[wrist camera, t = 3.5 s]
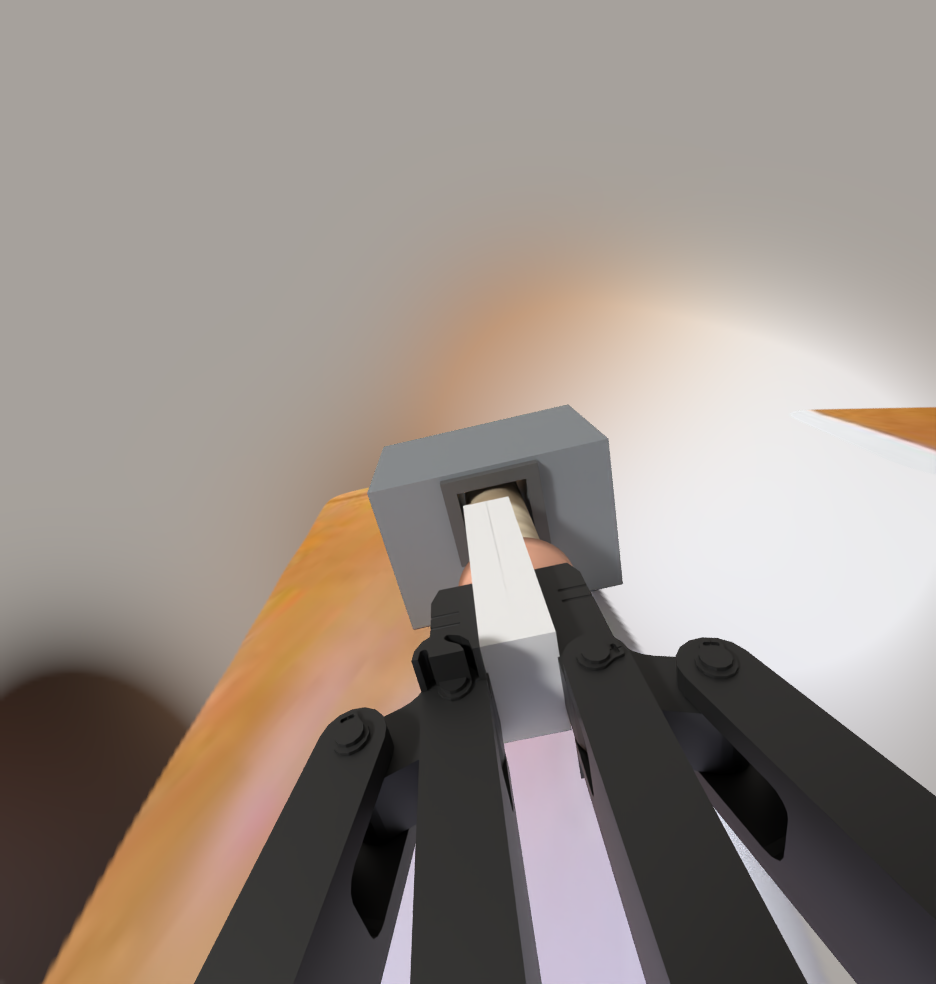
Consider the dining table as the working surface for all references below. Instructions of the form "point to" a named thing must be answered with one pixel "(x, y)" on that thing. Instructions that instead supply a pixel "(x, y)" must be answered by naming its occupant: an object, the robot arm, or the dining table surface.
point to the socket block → (488, 462)
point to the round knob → (537, 549)
